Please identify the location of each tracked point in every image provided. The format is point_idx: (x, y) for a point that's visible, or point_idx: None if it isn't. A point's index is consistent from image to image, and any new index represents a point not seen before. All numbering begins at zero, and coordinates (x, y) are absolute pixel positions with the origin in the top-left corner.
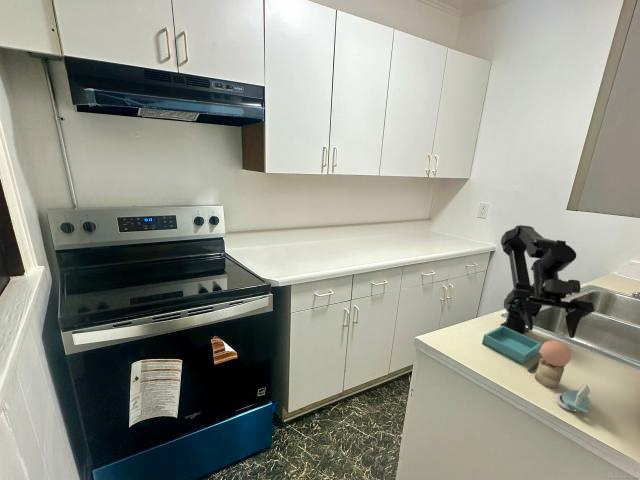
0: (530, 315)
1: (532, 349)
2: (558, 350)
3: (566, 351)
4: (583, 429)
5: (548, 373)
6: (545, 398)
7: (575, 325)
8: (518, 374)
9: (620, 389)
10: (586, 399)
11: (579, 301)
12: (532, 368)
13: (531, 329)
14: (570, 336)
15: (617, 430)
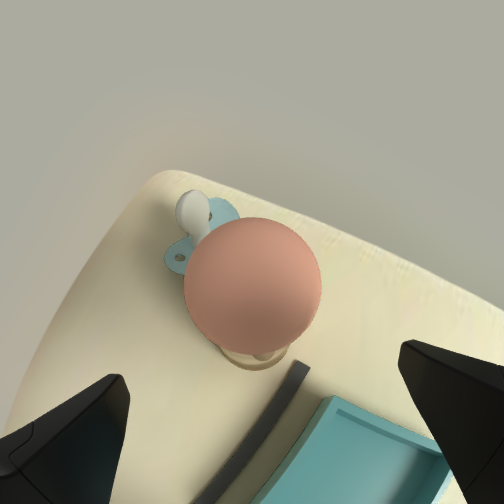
0: (486, 374)
1: (288, 472)
2: (261, 218)
3: (220, 226)
4: (219, 186)
5: None
6: None
7: (53, 420)
8: (341, 327)
9: (43, 385)
10: (171, 258)
11: None
12: (289, 391)
13: (407, 343)
14: (126, 396)
15: (145, 213)
